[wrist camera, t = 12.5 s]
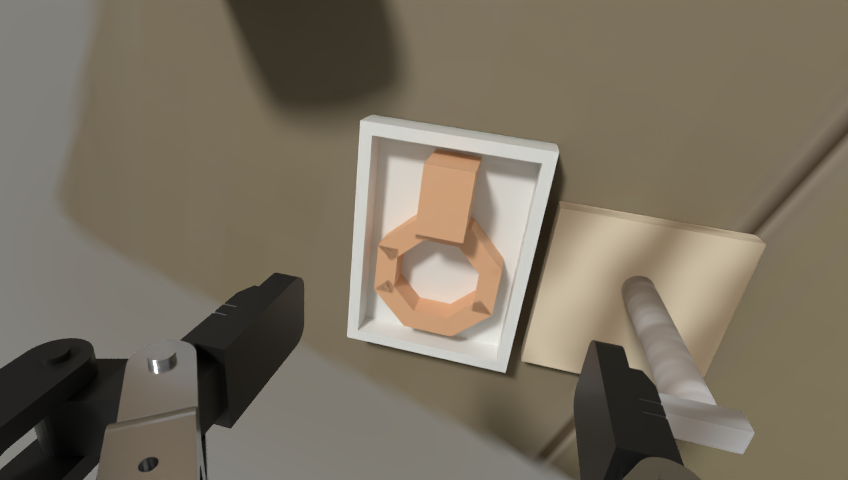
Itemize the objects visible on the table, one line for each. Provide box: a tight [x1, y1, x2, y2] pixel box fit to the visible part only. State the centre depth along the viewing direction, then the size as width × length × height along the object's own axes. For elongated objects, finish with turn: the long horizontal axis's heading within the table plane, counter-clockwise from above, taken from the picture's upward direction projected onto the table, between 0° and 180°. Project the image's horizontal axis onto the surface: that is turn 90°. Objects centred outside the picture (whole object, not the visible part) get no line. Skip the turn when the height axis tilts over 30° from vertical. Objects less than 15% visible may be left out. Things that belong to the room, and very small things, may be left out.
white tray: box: [347, 115, 559, 373], centre depth 32 cm, size 12×16×2 cm
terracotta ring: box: [374, 149, 503, 336], centre depth 31 cm, size 8×13×4 cm
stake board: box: [521, 201, 766, 454], centre depth 26 cm, size 12×12×14 cm
